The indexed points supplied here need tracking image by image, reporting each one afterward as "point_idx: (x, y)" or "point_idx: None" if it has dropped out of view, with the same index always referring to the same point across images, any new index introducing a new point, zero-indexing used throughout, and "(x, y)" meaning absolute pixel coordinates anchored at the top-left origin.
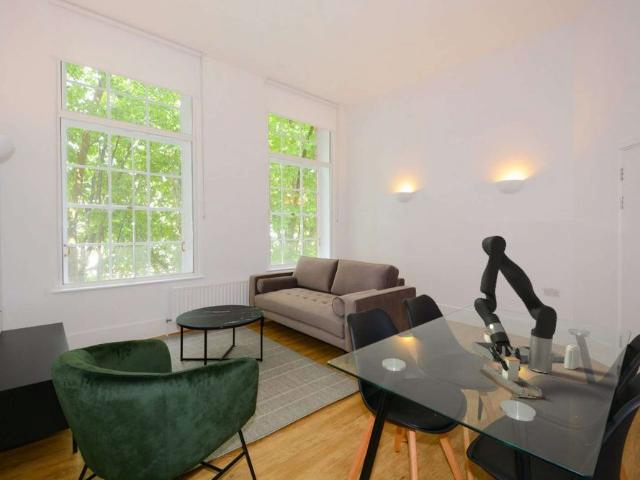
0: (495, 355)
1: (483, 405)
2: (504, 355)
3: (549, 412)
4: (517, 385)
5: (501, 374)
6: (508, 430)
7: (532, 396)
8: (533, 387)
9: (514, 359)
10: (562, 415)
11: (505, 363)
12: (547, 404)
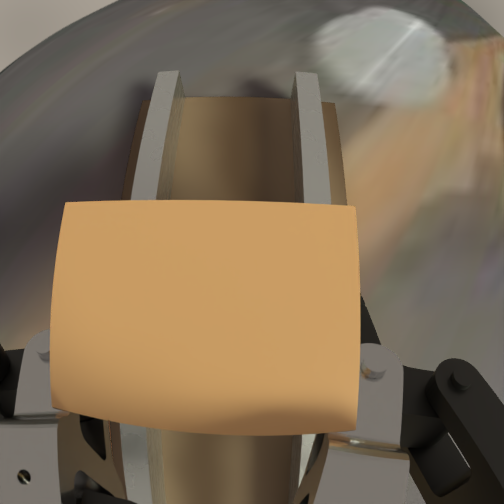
0: (443, 494)
1: (499, 95)
2: (349, 443)
3: (258, 18)
4: (309, 120)
5: (193, 470)
6: (456, 11)
7: (231, 98)
8: (172, 115)
9: (170, 236)
10: (217, 8)
11: None
12: (195, 62)
